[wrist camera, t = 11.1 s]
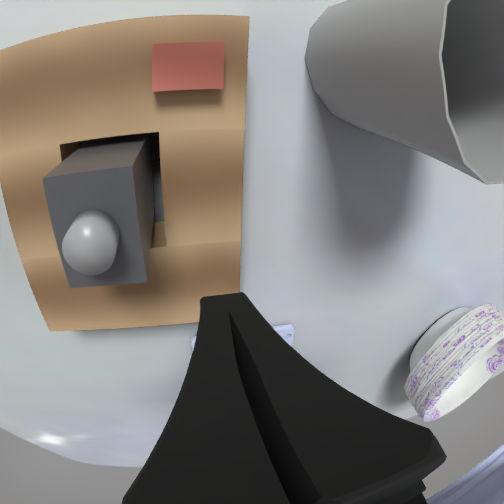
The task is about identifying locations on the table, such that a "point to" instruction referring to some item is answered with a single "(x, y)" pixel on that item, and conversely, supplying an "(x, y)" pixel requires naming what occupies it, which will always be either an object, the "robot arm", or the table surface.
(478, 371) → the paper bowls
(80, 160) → the plug
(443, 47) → the cup
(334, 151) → the table surface
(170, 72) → the socket
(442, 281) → the table surface
